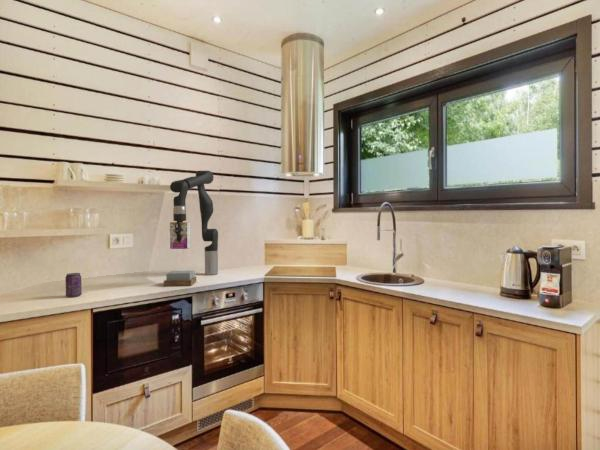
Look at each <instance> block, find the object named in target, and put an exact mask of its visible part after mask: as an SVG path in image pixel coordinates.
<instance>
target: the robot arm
mask: <svg viewBox="0 0 600 450" xmlns="http://www.w3.org/2000/svg"><path fill="white" fill-rule="evenodd" d="M213 181H214V174H213V172H212V171H210V170H198V171H196V173H195V176H189V177H186V178H184V179H183V178H182V179H179V180H178V179H177V180H174V181H172V182H171V183H170V186H169V189H170V191H171V192H173V193H175V194H176V193H178V195H176V196H174V197H173V208H172V211H173V212H172V217H173V219H172V220H173V222H177V224H175V233H176V235H177V241H181V231H182V228H181V222H187V208H186V199H187V195H188V191H189V190H190V189H194V188H195V187H196V188H197V193H198V202H199V212H200V220H201V221H200V222H201V238H202V241H204V242H211V244H209V245H207V246H205V247H204V275H206V276H214V275H218V274H219V261H218V260H219V257H218V256H219V255H218V253H219V252H218V251H219V250H218V246H219V231H218V229H217V228H208V224H209V221H210V219H211V217H212V215H213V212H214V203H213V200H212V198H211V197H210V195H209V194H208V192H207V190H206V188H205V185H208V184H211V183H213ZM180 228H181V229H180ZM178 231H179V232H178Z"/></svg>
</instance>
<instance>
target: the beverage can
mask: <svg viewBox="0 0 600 450" xmlns="http://www.w3.org/2000/svg"><path fill="white" fill-rule="evenodd" d="M82 292H83V291H82V275H81V273H80V272H71V273H66V275H65V296H66V297H68V298H76V297H80V296H81V295H82V294H83V293H82Z"/></svg>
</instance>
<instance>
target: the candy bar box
mask: <svg viewBox="0 0 600 450" xmlns="http://www.w3.org/2000/svg"><path fill="white" fill-rule="evenodd" d="M175 224H177V221H172V222H169V237H170V238H169V239H170V241H169V244H170V245H169V247H170V248H169V249H171V250H175V249H176V250H182V249H183V250H188V249H191V222H189V221H183V222H181V228H182V231H181V241H177V235H176V233H175ZM181 228H180V229H181ZM178 232H179V231H178Z"/></svg>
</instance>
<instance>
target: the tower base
mask: <svg viewBox="0 0 600 450" xmlns="http://www.w3.org/2000/svg"><path fill="white" fill-rule="evenodd" d="M196 283H197V276H195V277H193V278H192V279H190V280H167V279H164V280H163V287H164V288H166V287H167V288H168V287H192V286H193V285H194V284H196Z"/></svg>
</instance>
